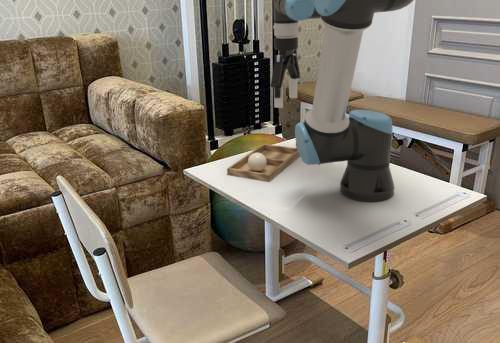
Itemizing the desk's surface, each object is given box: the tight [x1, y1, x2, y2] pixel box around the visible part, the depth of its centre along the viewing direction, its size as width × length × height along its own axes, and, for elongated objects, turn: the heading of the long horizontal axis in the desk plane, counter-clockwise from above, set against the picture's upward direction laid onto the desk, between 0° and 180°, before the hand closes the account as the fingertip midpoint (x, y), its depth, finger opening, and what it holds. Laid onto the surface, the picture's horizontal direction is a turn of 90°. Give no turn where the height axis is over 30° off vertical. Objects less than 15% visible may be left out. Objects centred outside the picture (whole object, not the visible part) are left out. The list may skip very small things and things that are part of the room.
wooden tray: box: [226, 143, 301, 183], centre depth 163 cm, size 15×26×3 cm, turn 152°
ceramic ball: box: [248, 153, 267, 171], centre depth 157 cm, size 6×6×6 cm
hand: (286, 102), depth 165 cm, fingers open, 13 cm apart
